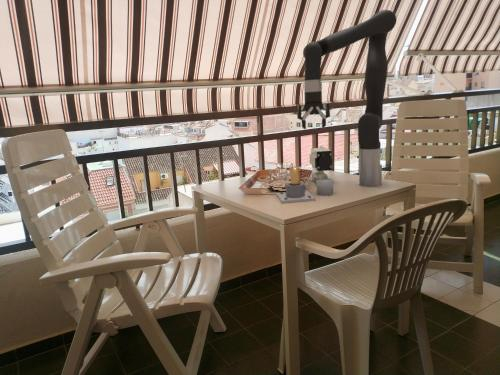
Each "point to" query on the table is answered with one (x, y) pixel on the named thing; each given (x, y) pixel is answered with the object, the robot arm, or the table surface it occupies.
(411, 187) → the table surface
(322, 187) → the grey wide stub
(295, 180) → the cylinder
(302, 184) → the flange coupling
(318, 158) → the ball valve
